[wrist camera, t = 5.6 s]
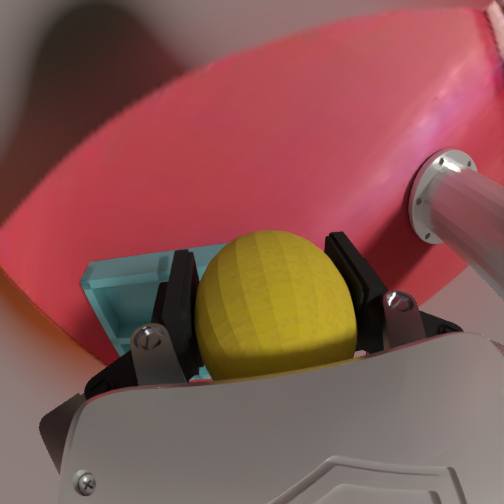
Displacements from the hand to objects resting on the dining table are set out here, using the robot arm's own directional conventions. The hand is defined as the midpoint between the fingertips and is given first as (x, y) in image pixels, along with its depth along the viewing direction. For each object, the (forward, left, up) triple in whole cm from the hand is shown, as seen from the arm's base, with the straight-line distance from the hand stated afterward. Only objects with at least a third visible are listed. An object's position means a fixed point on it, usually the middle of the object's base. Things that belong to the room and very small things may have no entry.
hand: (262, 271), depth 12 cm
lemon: (0, 0, -2) cm, 2 cm away
